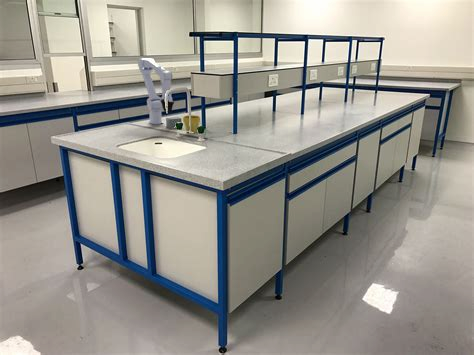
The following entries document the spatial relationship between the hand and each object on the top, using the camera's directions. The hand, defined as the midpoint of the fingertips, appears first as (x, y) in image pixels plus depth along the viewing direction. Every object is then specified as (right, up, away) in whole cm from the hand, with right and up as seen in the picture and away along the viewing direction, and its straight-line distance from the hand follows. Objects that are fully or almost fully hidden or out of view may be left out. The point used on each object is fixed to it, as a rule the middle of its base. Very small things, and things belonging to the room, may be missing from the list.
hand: (167, 111), depth 245 cm
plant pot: (+17, -15, -12) cm, 26 cm away
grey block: (+4, -10, +2) cm, 11 cm away
